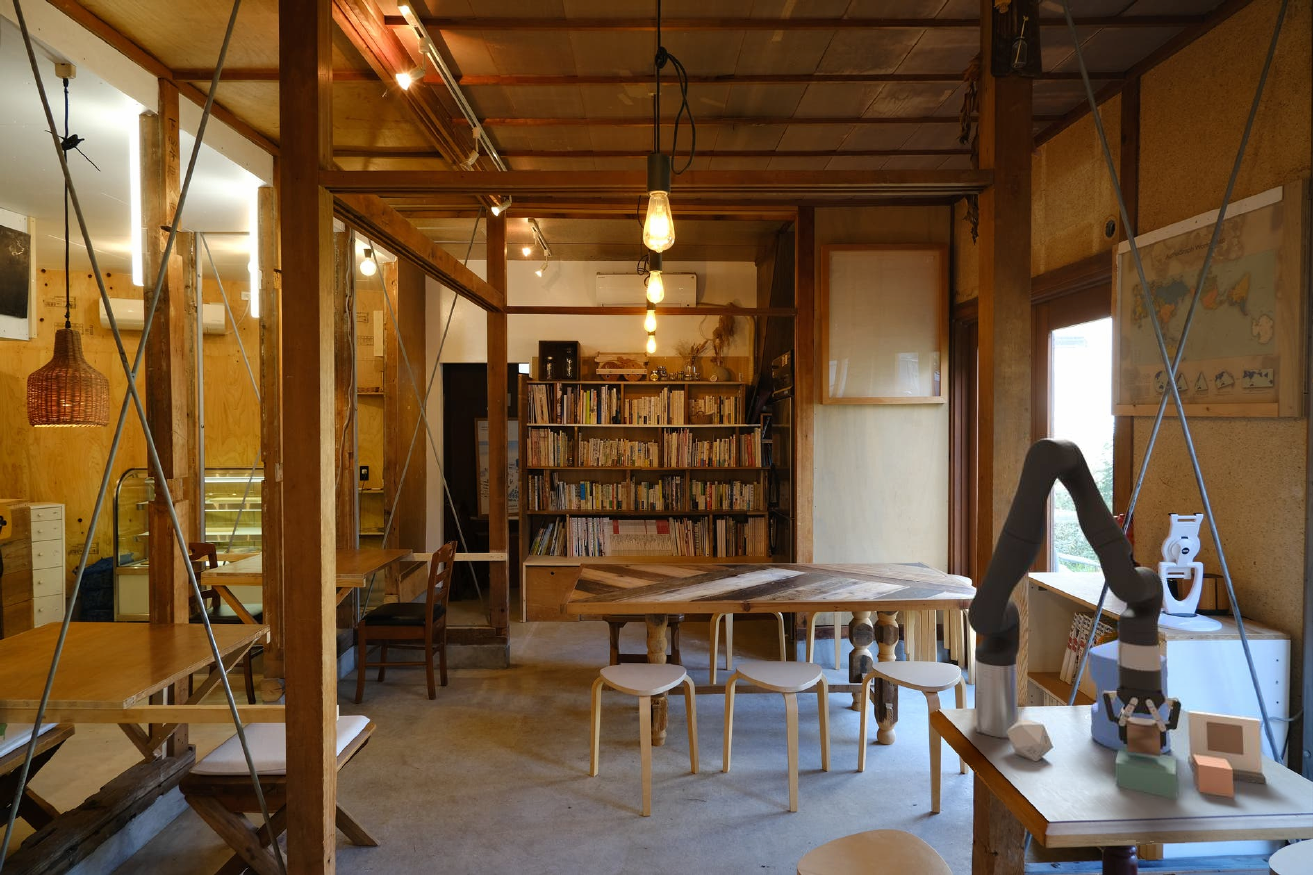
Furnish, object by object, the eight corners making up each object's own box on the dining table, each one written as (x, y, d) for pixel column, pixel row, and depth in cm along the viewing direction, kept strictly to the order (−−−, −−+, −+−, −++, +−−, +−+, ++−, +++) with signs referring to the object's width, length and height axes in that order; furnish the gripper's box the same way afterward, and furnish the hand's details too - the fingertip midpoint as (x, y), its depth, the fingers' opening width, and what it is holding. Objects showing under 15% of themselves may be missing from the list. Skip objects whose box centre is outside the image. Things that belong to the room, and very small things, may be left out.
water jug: (1186, 749, 163) (1181, 627, 164) (1140, 761, 158) (1135, 634, 158) (1120, 726, 178) (1116, 613, 179) (1076, 736, 172) (1071, 620, 173)
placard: (1193, 772, 152) (1191, 715, 152) (1188, 761, 157) (1186, 707, 157) (1265, 783, 146) (1263, 724, 146) (1257, 772, 151) (1255, 715, 152)
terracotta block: (1199, 791, 143) (1198, 764, 144) (1193, 780, 148) (1192, 754, 148) (1233, 797, 141) (1232, 769, 141) (1226, 786, 146) (1225, 758, 146)
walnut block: (1128, 751, 147) (1127, 724, 147) (1125, 741, 152) (1124, 715, 152) (1160, 756, 145) (1159, 728, 145) (1156, 746, 150) (1155, 719, 150)
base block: (1116, 786, 147) (1115, 762, 147) (1120, 769, 155) (1119, 746, 155) (1176, 800, 141) (1175, 774, 141) (1176, 781, 149) (1176, 757, 149)
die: (1017, 766, 158) (1046, 736, 155) (992, 734, 165) (1019, 705, 162) (1039, 772, 161) (1068, 743, 158) (1014, 741, 168) (1040, 712, 166)
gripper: (1177, 662, 149) (1180, 744, 149) (1097, 655, 156) (1100, 733, 155) (1184, 672, 142) (1188, 758, 142) (1100, 664, 149) (1103, 745, 148)
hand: (1142, 744), depth 149 cm, fingers closed on walnut block, 5 cm apart
